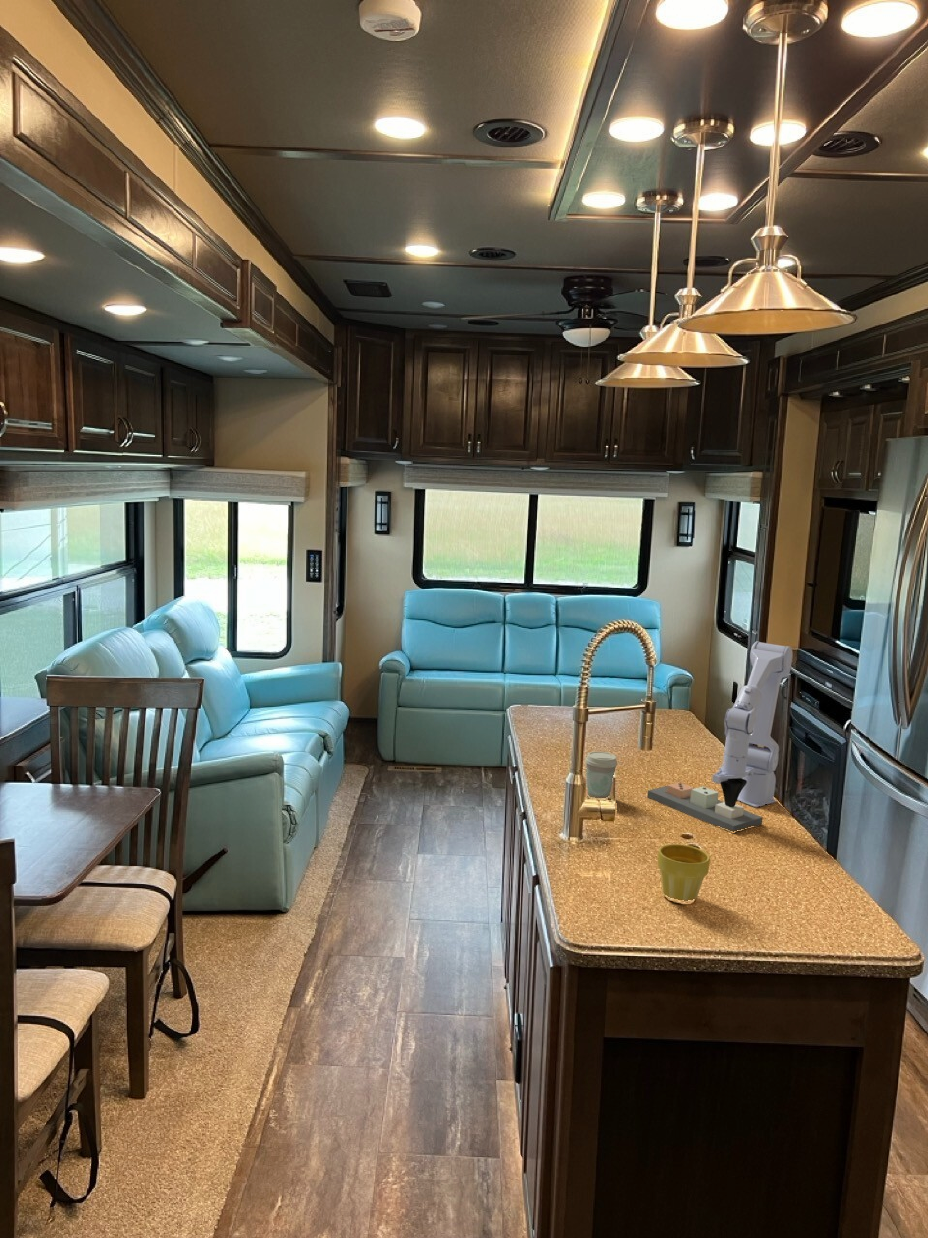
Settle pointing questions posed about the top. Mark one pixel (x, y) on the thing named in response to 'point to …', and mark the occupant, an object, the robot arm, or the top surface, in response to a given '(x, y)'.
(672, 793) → the key three
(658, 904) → the top surface
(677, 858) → the plant pot
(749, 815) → the keypad board
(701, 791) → the key two
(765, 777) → the robot arm
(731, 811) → the key one
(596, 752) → the coffee cup
